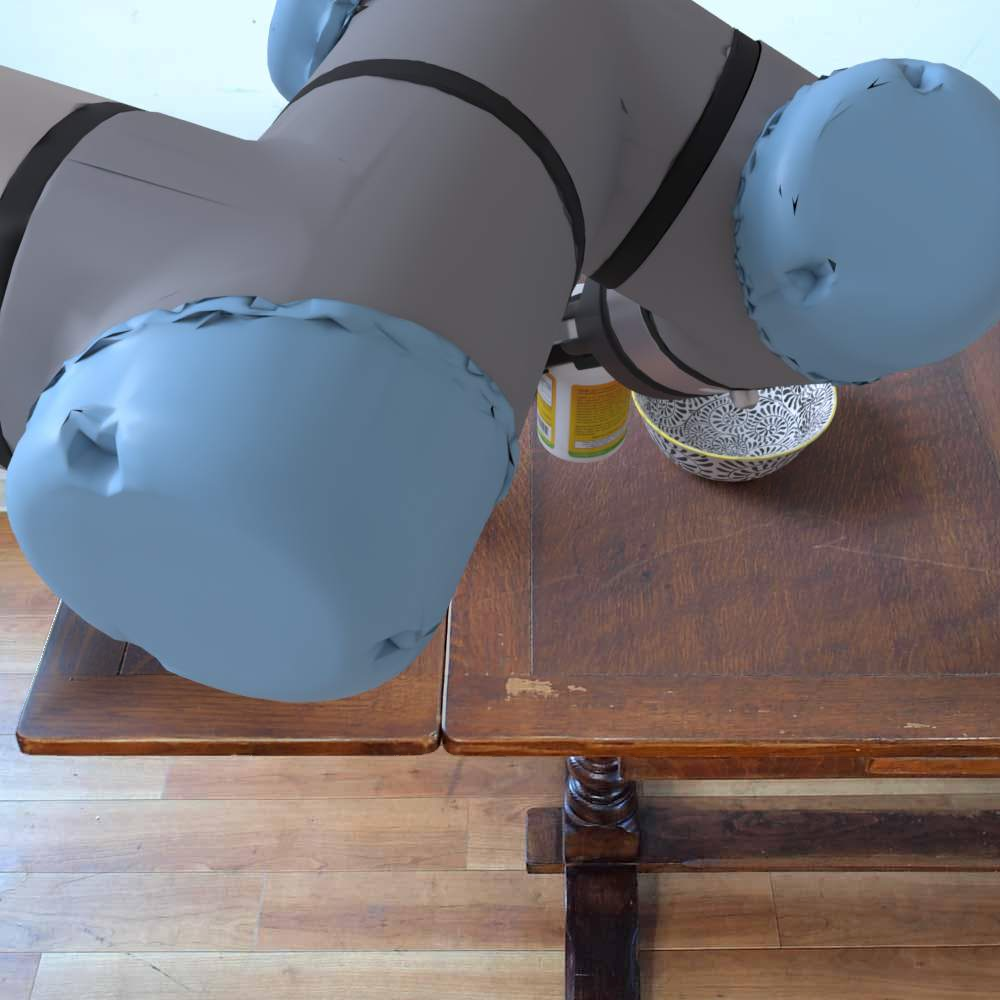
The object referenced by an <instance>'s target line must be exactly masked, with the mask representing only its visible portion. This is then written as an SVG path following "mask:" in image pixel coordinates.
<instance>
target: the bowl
mask: <svg viewBox="0 0 1000 1000" xmlns="http://www.w3.org/2000/svg"><path fill="white" fill-rule="evenodd" d="M758 393H759V401H758V403H757V405H756V406H754V407H753V408H749V409H738V408H735V407H734V405H733V403H732V401H731V398H730V393H729V392H728V393H721V394H716V395H712V396H707V397H698V398H690V399H682V400H661V399H655V398H650V397H646V396H643V395H641V394H638V393H636V392H634V391H632V390H631V396H632V397H631V398H632V400H633V403H634V405H635V407H636V409H637V410H638V413H640V416H641V418H642V420H643V422H644V425H645V428H646V430H647V432H648V434H649V436H650V437H651V439H652V441H653V442H654V444H655V445H656V447H657V448H658V449H659V450H660V451H661V452H662V454H663V455H664V456H665V457H666V458H667V459H669V460H670V461H671V462H673V464H675V465H676V466H678V467H680V468H681V469H683V470H684V471H687V472H689V473H690V474H692V475H695V476H698V477H701V478H703V479H707V480H713V481H718V482H731V483H733V482H745V481H750V480H752V481H753V480H755V479H759V478H763V477H765V476H768V475H770V474H773V473H774V472H776V471H779V470H780V469H782V468H784V467H785V466H786V465H788V464H789V463H790V462H792V461H793V460H794V459H795V458H796V457H797V456H799V455H800V453H802V451H804V449H805V448H806V447H807V446H809V445H811V443H813V442H814V441H816V440H817V439H818V438H819V437H820V436H822V435H823V433H824V432H826V430H827V429H828V428H829V426H830V424H831V423H832V421H833V419H834V418H835V417H834V416H835V414H836V411H837V407H838V406H837V405H838V392H837V386H832V385H831V383H827V384H812V385H796V386H781V387H773V388H769V389H762V390H758Z"/></svg>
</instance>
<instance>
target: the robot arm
mask: <svg viewBox="0 0 1000 1000" xmlns="http://www.w3.org/2000/svg"><path fill="white" fill-rule="evenodd" d="M268 29H269V30H268V36H267V43H266V45H267V46H266V51H267V52H266V56H267V57H266V61H267V62H266V63H267V64H266V65H267V70H268V73H269V77H270V80H271V83H272V84H273V85H274V87H275V89H276V90H277V92H278V93H279V94H280V95H281V96H282V97H283V99H285V100H286V102H288V103H287V104H286V105H285V107H284V108H283V109H282V110H281V112H280V113H279V114H278V115H277V117H276V118H275V119H274V120H273V122H272V123H271V125H270V126H269V127H268V128H267V129H266V130H265V131H264V132H263V133H262V134H261V135H260V137H259V138H258V139H257V140H254V139H245V138H241V137H238V136H235V135H232V134H228V133H226V132H222V131H220V130H215V129H213V128H210V127H207V126H204V125H200V124H198V123H194V122H191V121H188V120H184V119H182V118H179V117H175V116H172V115H169V114H165V113H162V112H158V111H150V110H146V109H143V108H140V107H136V106H133V105H131V104H126V103H124V102H121V101H117V100H114V99H111V98H107V97H105V96H101V95H98V94H95V93H92V92H90V91H89V92H88V91H86V90H82V89H79V88H76V87H73V86H71V85H70V86H69V85H67V84H63V83H60V82H58V81H57V82H56V81H53V80H50V79H48V78H44V77H41V76H38V75H34V74H31V73H28V72H25V71H21V70H18V69H15V68H11V67H8V66H5V65H2V64H0V470H3V471H6V477H5V506H6V514H7V517H8V520H9V524H10V527H11V530H12V533H13V535H14V538H15V539H16V541H17V543H18V546H19V548H20V550H21V552H22V554H23V555H24V557H25V558H26V560H27V562H28V563H29V565H30V567H31V568H32V569H33V570H34V572H35V573H36V574H37V576H38V577H39V578H40V579H41V580H42V581H43V583H44V584H45V585H46V586H47V587H48V588H49V590H50V591H51V592H52V593H53V594H54V595H55V596H56V597H58V598H59V599H60V600H61V601H62V602H63V603H64V604H65V605H66V606H68V607H69V608H70V609H71V610H72V611H73V612H74V613H75V614H76V615H78V617H80V618H81V619H82V620H84V621H85V622H86V623H87V624H89V625H90V626H91V627H94V628H95V629H97V630H98V631H100V632H101V633H103V634H105V635H107V636H108V637H110V638H111V639H112V640H114V641H121V642H125V643H130V644H132V645H134V646H138V647H140V648H141V649H143V650H144V651H145V652H147V653H148V654H149V655H151V656H153V657H154V658H156V659H157V661H158V662H159V663H160V664H161V666H162V667H163V668H164V669H165V670H166V671H168V672H170V673H172V674H174V675H177V676H180V677H181V678H185V679H187V680H190V681H193V682H195V683H198V684H201V685H204V686H207V687H210V688H213V689H215V690H216V689H217V690H219V691H223V692H226V693H230V694H234V695H238V696H243V697H246V698H253V699H258V700H259V699H261V700H269V701H274V702H275V701H276V702H283V703H319V702H330V701H336V700H337V701H338V700H342V699H346V698H351V697H354V696H357V695H360V694H363V693H366V692H369V691H371V690H374V689H377V688H378V687H381V686H383V685H384V684H386V683H387V682H389V681H391V680H392V679H394V678H396V677H397V676H398V675H400V674H401V673H402V674H403V672H404V671H405V670H406V669H407V668H409V666H410V665H411V664H412V663H413V662H414V661H416V659H417V658H418V657H419V656H420V655H421V654H422V653H423V652H424V651H425V650H426V648H427V647H428V646H429V643H430V642H431V640H432V639H433V637H434V636H435V634H436V633H437V630H438V628H439V626H440V625H441V623H442V622H443V620H444V617H445V616H446V613H447V611H448V608H449V606H450V604H451V601H452V599H453V597H454V595H455V593H456V591H457V589H458V586H459V584H460V582H461V579H462V578H463V575H464V572H465V570H466V568H467V566H468V564H469V561H470V559H471V557H472V555H473V552H474V550H475V548H476V546H477V543H478V541H479V539H480V536H481V535H482V532H483V530H484V528H485V525H486V523H487V522H488V520H489V519H490V517H491V514H492V512H493V511H494V507H495V506H497V505H498V504H499V503H500V502H501V501H503V500H504V499H505V498H506V497H508V495H509V491H510V490H511V487H512V484H513V481H514V479H515V476H516V472H517V469H518V465H519V460H520V455H521V449H520V444H519V441H520V439H521V438H520V437H521V435H522V433H523V429H524V426H525V424H526V420H527V418H528V415H529V413H530V409H531V408H532V404H533V401H534V399H535V396H536V394H537V388H538V385H539V382H540V379H541V376H542V374H545V373H549V371H548V369H549V368H553V367H558V366H562V365H566V364H570V363H574V365H575V367H576V369H578V370H586V369H592V368H598V367H603V368H604V369H605V370H606V371H607V372H608V373H609V374H610V375H611V376H612V377H613V378H614V379H615V380H616V381H617V382H619V383H620V384H622V385H623V386H625V387H626V388H628V389H630V390H632V391H634V392H636V393H638V394H641V395H643V396H646V397H650V398H655V399H661V400H682V399H690V398H698V397H707V396H712V395H716V394H721V393H728V392H729V393H730V398H731V401H732V403H733V405H734V407H735V408H738V409H749V408H753V407H754V406H756V405H757V403H758V401H759V393H758V390H762V389H769V388H773V387H781V386H796V385H812V384H827V383H831V385H832V386H835V387H840V386H855V387H860V386H865V385H870V384H872V383H876V382H878V381H882V380H883V379H884V378H885V377H886V376H890V375H894V374H896V373H901V372H905V371H908V370H912V369H916V368H920V367H924V366H929V365H931V364H935V363H937V362H941V361H943V360H945V359H948V358H950V357H952V356H955V355H956V354H958V353H960V352H961V351H963V350H964V349H966V348H968V347H970V346H971V345H973V344H974V343H976V342H977V341H978V340H980V338H982V337H984V335H985V334H987V333H988V332H989V331H990V330H991V329H992V328H993V327H995V325H996V324H997V323H998V322H999V321H1000V98H999V97H998V96H997V95H996V94H995V93H994V92H993V91H992V90H990V88H988V87H987V86H986V85H985V84H983V83H982V82H981V81H979V80H978V79H976V78H974V77H973V76H971V75H970V74H968V73H966V72H965V71H962V70H960V69H958V68H957V67H954V66H951V65H950V64H947V63H944V62H938V63H937V62H931V61H928V60H924V59H916V58H908V57H904V58H903V57H902V58H898V57H897V58H889V57H888V58H887V57H884V58H877V59H874V60H869V61H865V62H861V63H858V64H855V65H852V66H850V67H844V68H838V69H834V70H832V72H831V73H830V74H828V75H825V74H821V75H820V76H817V75H816V74H814V73H812V71H809V70H808V69H807V68H805V67H803V66H802V65H800V64H799V63H797V62H796V61H794V60H793V59H791V58H789V57H788V56H786V55H785V54H783V53H782V52H780V51H779V50H778V49H775V48H774V47H773V46H771V45H769V44H768V43H766V42H765V41H763V39H762V40H761V39H756V40H755V39H753V38H752V37H750V36H749V35H747V34H746V33H744V32H742V31H741V30H739V28H737V27H736V26H734V27H732V26H731V24H729V23H727V22H726V21H725V20H723V19H721V18H720V17H719V16H716V14H714V13H712V12H711V11H709V10H708V9H706V8H704V6H702V5H700V4H699V3H697V2H695V1H694V0H276V1H275V5H274V9H273V13H272V16H271V21H270V24H269V28H268ZM582 274H583V275H584V276H586V278H585V280H584V287H583V290H582V293H579V294H576V295H573V296H571V295H572V292H573V290H574V288H575V287H576V285H577V284H579V281H580V279H581V277H582Z"/></svg>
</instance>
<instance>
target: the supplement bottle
mask: <svg viewBox="0 0 1000 1000" xmlns="http://www.w3.org/2000/svg"><path fill="white" fill-rule="evenodd" d="M584 283H585V282H584ZM584 283H577V285H576V287H575V288H574V290H573V292H572V295H571V296H573V295H576V294H579V293H582V290H583V287H584ZM548 371H549V373H545V374H542V376H541V379H540V382H539V385H538V387H537V390H536V399H537V400H536V430H537V436H538V438H539V441H540V443H541V444H542V446H543V447H544V448H545V450H547V451H548V452H549V454H551V455H553V456H554V457H556V458H558V459H561V460H564V461H567V462H570V463H576V464H577V463H579V464H587V463H595V462H599V461H600V462H601V461H602V460H605V459H607V458H609V457H611V456H612V455H614V454H615V453H617V452H618V450H619V449H620V448H621V447H622V446H623V444H624V442H625V440H626V437H627V432H628V426H629V425H628V424H629V414H630V404H631V403H630V402H631V396H632V392H631V390H630V389H628V388H626V387H625V386H623V385H622V384H620V383H619V382H617V381H616V380H615V379H614V378H613V377H612V376H611V375H610V374H609V373H608V372H607V371H606V370H605V369H604V368H603V367H598V368H592V369H586V370H578V369H576V367H575V365H574V363H570V364H566V365H562V366H558V367H553V368H549V369H548Z"/></svg>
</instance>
